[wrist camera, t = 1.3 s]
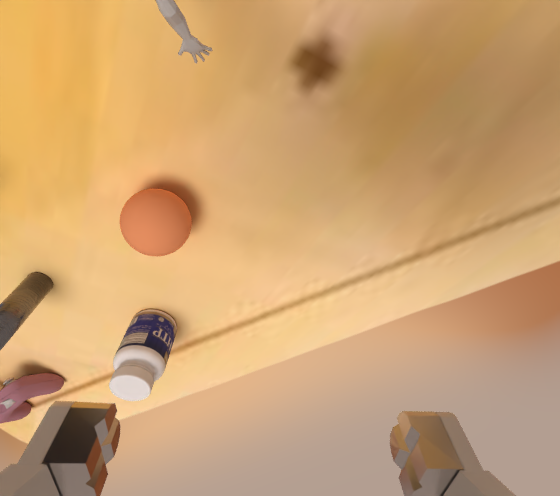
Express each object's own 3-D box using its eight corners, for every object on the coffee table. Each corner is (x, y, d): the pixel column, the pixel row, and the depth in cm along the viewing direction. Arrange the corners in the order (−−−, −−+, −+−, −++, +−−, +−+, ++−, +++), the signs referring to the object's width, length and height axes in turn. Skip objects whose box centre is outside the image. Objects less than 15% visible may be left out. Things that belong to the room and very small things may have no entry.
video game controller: (49, 354, 47) (-6, 383, 40) (70, 382, 47) (18, 416, 40) (11, 387, 50) (-45, 419, 44) (31, 413, 50) (-23, 449, 44)
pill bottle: (184, 334, 43) (166, 400, 36) (145, 344, 44) (119, 410, 37) (165, 302, 41) (141, 366, 33) (123, 313, 41) (90, 377, 34)
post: (45, 270, 38) (-11, 333, 30) (57, 289, 39) (5, 353, 32) (22, 273, 38) (-40, 336, 30) (34, 292, 39) (-22, 357, 32)
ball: (187, 173, 33) (171, 201, 27) (203, 230, 36) (192, 265, 31) (123, 183, 33) (96, 212, 28) (145, 238, 36) (124, 273, 31)
